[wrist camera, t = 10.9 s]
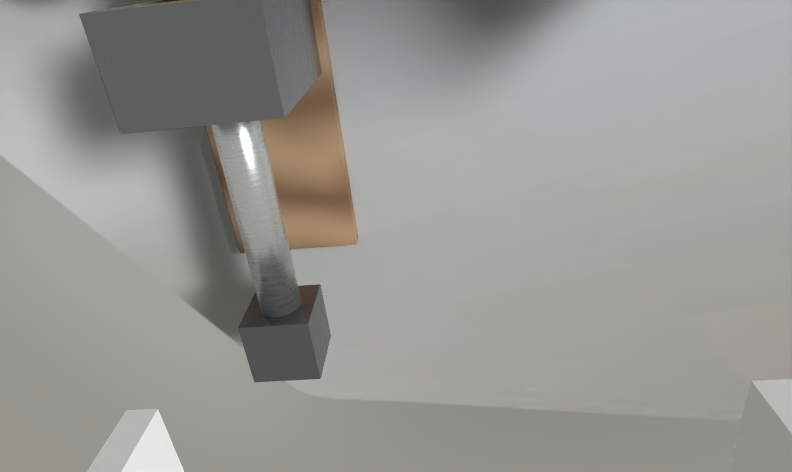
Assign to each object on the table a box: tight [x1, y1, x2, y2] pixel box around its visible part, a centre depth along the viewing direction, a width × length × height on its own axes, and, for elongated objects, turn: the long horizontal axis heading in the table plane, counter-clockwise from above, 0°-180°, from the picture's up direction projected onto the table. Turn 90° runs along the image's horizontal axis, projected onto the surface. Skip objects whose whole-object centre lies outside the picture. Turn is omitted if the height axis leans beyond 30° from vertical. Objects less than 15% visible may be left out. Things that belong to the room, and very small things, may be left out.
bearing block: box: [79, 0, 322, 134], centre depth 33 cm, size 6×9×12 cm, turn 96°
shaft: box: [211, 120, 331, 382], centre depth 37 cm, size 25×5×5 cm, turn 6°
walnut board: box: [205, 0, 358, 253], centre depth 40 cm, size 26×10×1 cm, turn 6°
